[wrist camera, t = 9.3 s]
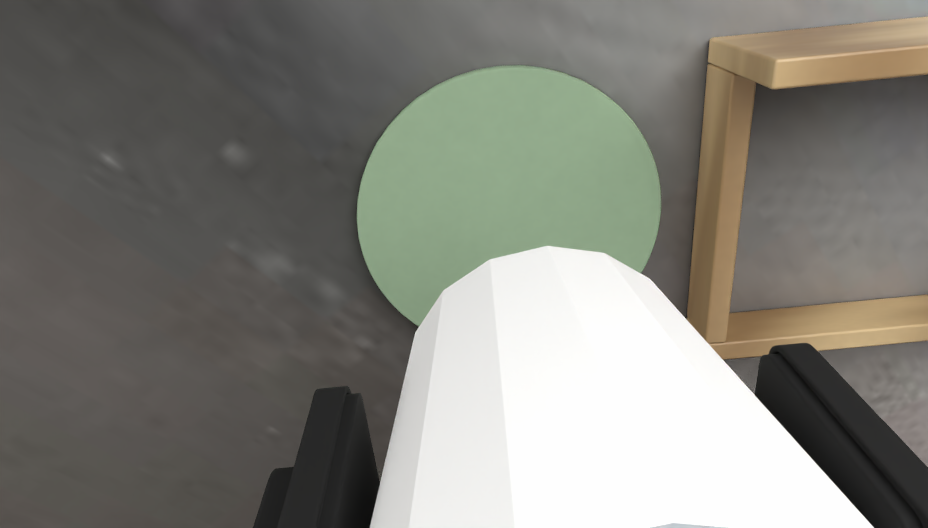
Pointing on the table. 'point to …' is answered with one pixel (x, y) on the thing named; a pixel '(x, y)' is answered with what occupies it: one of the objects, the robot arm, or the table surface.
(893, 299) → the pod caddy
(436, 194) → the coaster
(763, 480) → the shot glass
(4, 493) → the table surface
